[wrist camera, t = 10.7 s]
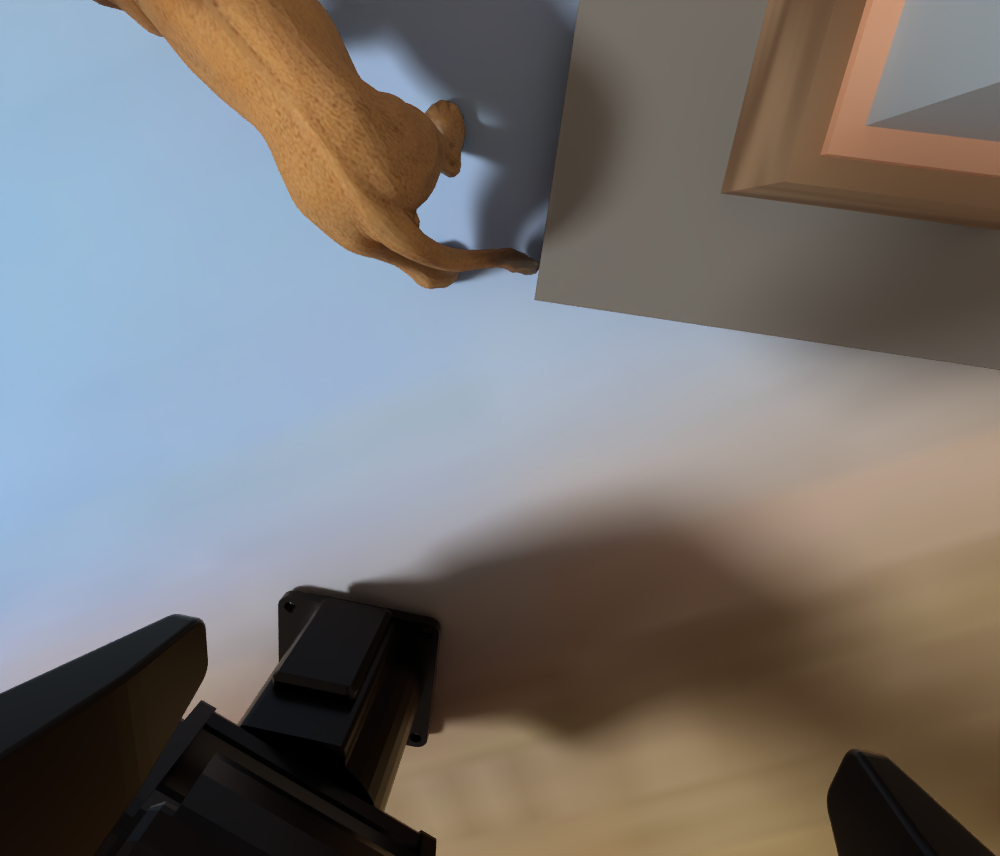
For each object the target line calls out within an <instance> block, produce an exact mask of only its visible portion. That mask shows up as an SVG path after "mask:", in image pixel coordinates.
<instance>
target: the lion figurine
mask: <svg viewBox="0 0 1000 856" xmlns="http://www.w3.org/2000/svg"><path fill="white" fill-rule="evenodd" d="M93 1H95V2H97V3H99V4H101V5H104V6H107V7H111V8H115V9H119V10H123V11H125V12H126V13H127V14H128V15H129V16H131V17H132V18H133V19H134V20H135V21H136V22H138V23H139V24H140V25H141V26H142V27H143V28H144V29H146V30H147V31H148V32H150V33H152V34H155V35H157V36H161V37H164V38H165V39H166V40H167V42H168V43H169V44H170V45H171V47H172V48H173V49H174V50H175V52H176V53H177V54H178V55H179V57H180V58H181V59H182V60H183V61H184V63H185V64H186V65H187V66H188V67H189V68H190V69H191V70H192V72H193V73H195V74H196V75H197V76H198V77H199V78H200V79H201V80H202V81H203V82H204V83H205V84H206V85H207V86H208V87H209V88H210V89H211V90H212V91H213V92H214V93H215V94H216V95H217V96H218V97H220V98H221V99H222V100H223V101H224V102H226V103H227V104H228V105H229V106H230V107H232V108H233V109H234V110H235V111H236V112H237V113H239V114H240V115H241V116H242V117H243V118H245V119H246V120H247V121H248V122H250V123H251V124H252V125H254V126H255V128H256V129H257V130H258V131H259V132H260V133H261V134H262V136H263V138H264V139H265V141H266V142H267V144H268V146H269V148H270V150H271V152H272V155H273V157H274V160H275V162H276V165H277V167H278V170H279V172H280V174H281V176H282V179H283V181H284V183H285V185H286V187H287V189H288V191H289V194H290V196H291V198H292V200H293V201H294V203H295V205H296V206H297V207H298V209H299V210H300V211H301V212H302V214H303V215H304V216H306V217H307V218H308V219H309V220H310V221H311V222H313V223H314V224H315V225H316V226H317V227H318V228H319V229H321V230H322V231H323V232H324V233H325V234H326V235H328V236H329V237H330V238H331V239H333V240H334V241H335V242H337V243H338V244H339V245H341V246H342V247H344V248H345V249H347V250H349V251H351V252H353V253H356V254H358V255H362V256H366V257H370V258H374V259H378V260H381V261H384V262H387V263H390V264H392V265H395V266H397V267H398V268H400V269H401V270H402V271H404V272H405V273H406V274H408V275H409V276H410V277H411V278H412V279H413V280H414V281H415V282H416V283H417V284H419V285H420V286H422V287H425V288H428V289H434V288H445V287H448V286H449V285H451V284H452V283H453V282H454V281H456V279H457V278H458V276H459V272H463V271H469V270H475V269H482V268H493V267H499V268H505V269H507V270H509V271H510V272H512V273H514V272H518V273H522V274H524V275H532V274H535V273H536V272H537V271H538V270H539V267H540V264H539V263H538V262H537V261H536V260H534V259H533V258H530V257H529V256H527V255H526V254H524V253H522V252H519V251H517V250H515V249H512V248H503V249H486V250H464V249H456V248H451V247H448V246H446V245H442V244H440V243H438V242H436V241H434V240H433V239H431V238H429V237H428V236H426V235H425V234H424V233H423V232H422V231H421V230H420V229H419V223H420V221H419V218H418V215H417V213H416V210H417V208H418V207H420V206H421V205H422V204H423V203H424V202H425V201H426V200H427V199H428V197H429V196H430V194H431V193H432V191H433V190H434V188H435V186H436V183H437V181H438V178H439V175H440V172H441V173H443V174H444V175H446V176H448V177H455V176H456V175H457V174H459V172H460V168H461V148H462V146H463V143H464V138H465V126H464V120H463V116H462V114H461V111H460V110H459V108H458V107H457V105H455V104H454V103H451V102H448V101H445V100H440V101H438V102H436V103H435V104H433V105H431V106H430V108H429V109H428V110H427V111H426V112H425V114H424V113H423V112H422V111H421V110H419V109H418V108H416V107H415V106H413V105H411V104H408V103H405V102H404V101H403V100H402V99H400V98H399V97H397V96H395V95H392V94H390V93H385V92H379V91H377V90H376V89H374V88H373V87H371V86H370V85H369V84H367V83H366V82H364V81H363V80H362V79H361V78H360V76H359V75H358V73H357V71H356V69H355V67H354V64H353V62H352V60H351V58H350V56H349V54H348V51H347V49H346V47H345V45H344V43H343V41H342V38H341V36H340V34H339V32H338V30H337V28H336V26H335V25H334V23H333V21H332V19H331V18H330V16H329V15H328V13H327V12H326V11H325V9H324V8H323V6H322V5H321V4H320V3H319V1H318V0H93Z"/></svg>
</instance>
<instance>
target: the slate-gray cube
mask: <svg viewBox="0 0 1000 856" xmlns="http://www.w3.org/2000/svg"><path fill="white" fill-rule="evenodd" d="M865 126H872V127H880V128H888V129H897V130H905V131H913V132H921V133H929V134H938V135H946V136H954V137H962V138H971V139H979V140H987V141H995V142H1000V0H905V3H904V6H903V9H902V12H901V15H900V19H899V22H898V25H897V28H896V31H895V34H894V37H893V41H892V44H891V47H890V50H889V53H888V56H887V59H886V62H885V66H884V69H883V72H882V75H881V78H880V81H879V84H878V88H877V91H876V94H875V97H874V100H873V103H872V106H871V109H870V113H869V116H868V119H867V122H866V125H865Z"/></svg>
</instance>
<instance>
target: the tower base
mask: <svg viewBox="0 0 1000 856" xmlns="http://www.w3.org/2000/svg"><path fill="white" fill-rule="evenodd" d="M904 3H905V0H579V6H578V13H577V19H576V26H575V33H574V39H573V46H572V53H571V59H570V66H569V73H568V79H567V86H566V93H565V100H564V106H563V113H562V120H561V126H560V133H559V140H558V146H557V153H556V160H555V166H554V173H553V180H552V186H551V193H550V200H549V206H548V213H547V220H546V227H545V233H544V240H543V247H542V253H541V260H540V267H539V273H538V280H537V287H536V293H535V300H538V301H545V302H552V303H558V304H565V305H572V306H578V307H585V308H592V309H598V310H605V311H612V312H618V313H625V314H632V315H638V316H645V317H652V318H658V319H665V320H671V321H678V322H685V323H691V324H698V325H705V326H711V327H718V328H725V329H731V330H738V331H745V332H751V333H758V334H765V335H771V336H778V337H785V338H791V339H798V340H805V341H811V342H818V343H825V344H831V345H838V346H845V347H851V348H858V349H864V350H871V351H878V352H884V353H891V354H898V355H904V356H911V357H918V358H924V359H931V360H938V361H944V362H951V363H958V364H964V365H971V366H978V367H984V368H991V369H998V370H1000V142H995V141H987V140H979V139H971V138H962V137H954V136H946V135H938V134H929V133H921V132H913V131H905V130H897V129H888V128H880V127H872V126H865V125H866V122H867V119H868V116H869V113H870V109H871V106H872V103H873V100H874V97H875V94H876V91H877V88H878V84H879V81H880V78H881V75H882V72H883V69H884V66H885V62H886V59H887V56H888V53H889V50H890V47H891V44H892V41H893V37H894V34H895V31H896V28H897V25H898V22H899V19H900V15H901V12H902V9H903V6H904Z"/></svg>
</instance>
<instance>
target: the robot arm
mask: <svg viewBox="0 0 1000 856" xmlns="http://www.w3.org/2000/svg"><path fill="white" fill-rule="evenodd" d="M290 602H291V603H294V604H295V605H296V606H293V605H291V604H290ZM278 626H279V663H278V665H277V666H276V668H275V669H274V671H273V672H272V674H271V675H270V677H269V678H268V680H267V681H266V683H265V684H264V686H263V687H262V689H261V690H260V692H259V693H258V695H257V696H256V698H255V699H254V701H253V702H252V704H251V705H250V707H249V708H248V710H247V711H246V713H245V714H244V715H243V717H242V718H241V720H240V721H239V723H238V724H235V723H233V722H231V721H230V720H228V719H226V718H225V717H223V716H221V715H220V714H218V713H216V712H215V710H216V708H215V707H213V706H211V705H209V704H208V703H206V702H204V701H203V700H201V701H200V702H199V703H198V705H197V706H196V707H195V708H194V709H193V711H192V712H191V713H190V714H189V715H188V717H187V718H186V719H185V720H184V719H182V716H183V714H184V713H185V711H186V709H187V707H188V706H189V704H190V702H191V700H192V699H193V697H194V695H195V693H196V692H197V690H198V688H199V686H200V685H201V683H202V681H203V679H204V677H205V674H206V671H207V666H208V656H207V641H206V628H205V624H204V622H203V620H201V619H200V618H196V617H191V616H186V615H181V614H173V615H170V616H168V617H165V618H163V619H161V620H159V621H157V622H155V623H152V624H150V625H148V626H146V627H144V628H141V629H139V630H137V631H135V632H133V633H131V634H128V635H126V636H124V637H122V638H120V639H118V640H115V641H113V642H111V643H109V644H107V645H105V646H102V647H100V648H98V649H96V650H94V651H92V652H89V653H87V654H85V655H83V656H81V657H79V658H76V659H74V660H72V661H70V662H68V663H66V664H63V665H61V666H59V667H57V668H55V669H53V670H50V671H48V672H46V673H44V674H42V675H40V676H37V677H35V678H33V679H31V680H29V681H27V682H24V683H22V684H20V685H18V686H16V687H14V688H11V689H9V690H7V691H5V692H3V693H0V856H436V838H434V837H432V836H431V835H429V834H427V833H426V832H424V831H422V830H421V831H419V832H417V831H416V830H414V829H412V828H411V827H409V826H407V825H406V824H404V823H402V822H401V821H399V820H397V819H395V818H394V817H392V816H390V815H389V814H387V813H385V812H384V810H385V807H386V804H387V801H388V798H389V795H390V792H391V789H392V786H393V783H394V780H395V776H396V773H397V770H398V767H399V764H400V761H401V758H402V755H403V752H404V749H405V746H406V745H409V746H414V747H421V746H423V745H425V744H426V742H427V739H428V735H429V731H430V723H431V714H432V705H433V697H434V688H435V679H436V671H437V662H438V653H439V645H440V636H441V625H440V623H439V622H438V621H437V620H436V619H434V618H432V617H428V616H423V615H417V614H412V613H407V612H402V611H397V610H392V609H386V608H381V607H376V606H371V605H366V604H361V603H355V602H350V601H345V600H340V599H335V598H330V597H324V596H319V595H314V594H309V593H304V592H299V591H288V592H286V593H285V594H284V596H283V597H282V598H281V600H280V601H279V604H278ZM424 629H429V630H431V632H426V631H425V630H424ZM415 733H416V734H415ZM417 734H418V735H417ZM827 808H828V814H829V818H830V822H831V826H832V831H833V835H834V839H835V843H836V847H837V852H838V856H995V855H994V854H993V853H992V852H991V851H990V850H989V849H988V848H987V847H986V846H984V845H983V844H982V843H981V842H980V841H979V840H978V839H977V838H976V837H975V836H974V835H972V834H971V833H970V832H969V831H968V830H967V829H966V828H965V827H964V826H963V825H961V824H960V823H959V822H958V821H957V820H956V819H955V818H954V817H953V816H952V815H951V814H949V813H948V812H947V811H946V810H945V809H944V808H943V807H942V806H941V805H940V804H939V803H937V802H936V801H935V800H934V799H933V798H932V797H931V796H930V795H929V794H928V793H926V792H925V791H924V790H923V789H922V788H921V787H920V786H919V785H918V784H917V783H916V782H914V781H913V780H912V779H911V778H910V777H909V776H908V775H907V774H906V773H905V772H903V771H902V770H901V769H900V768H899V767H898V766H897V765H896V764H895V763H894V762H893V761H891V760H890V759H889V758H888V757H886V756H884V755H882V754H879V753H874V752H869V751H864V750H859V749H851V750H850V751H848V752H847V753H846V754H845V756H844V758H843V760H842V762H841V764H840V766H839V769H838V771H837V773H836V775H835V777H834V779H833V781H832V783H831V785H830V787H829V790H828V795H827Z"/></svg>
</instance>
